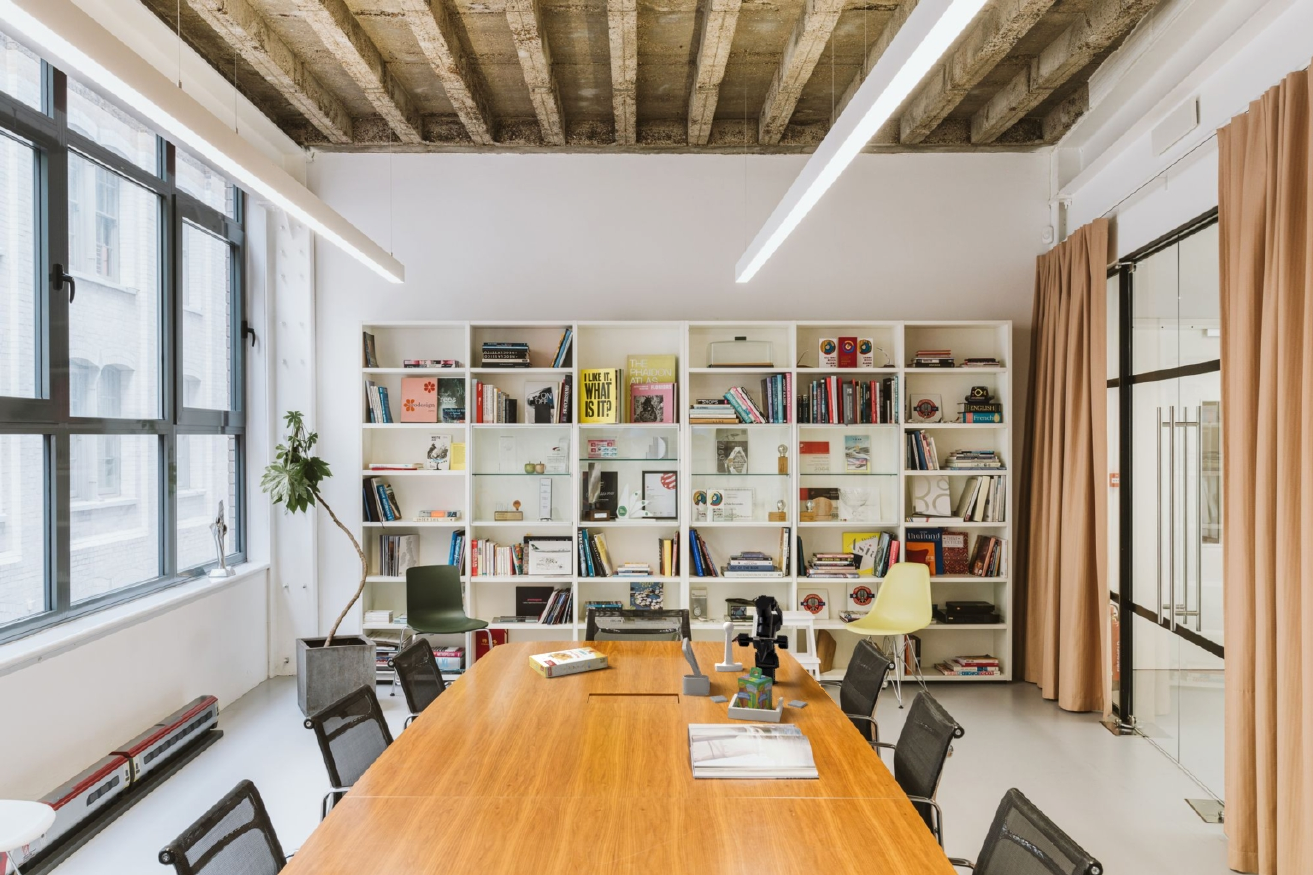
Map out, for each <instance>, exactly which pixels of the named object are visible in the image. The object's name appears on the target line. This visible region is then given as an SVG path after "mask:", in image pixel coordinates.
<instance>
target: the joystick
mask: <svg viewBox="0 0 1313 875" xmlns="http://www.w3.org/2000/svg"><path fill="white" fill-rule="evenodd" d="M722 629H723V631H724V632H725V639H724V640H725V642H724V643H725V644H724V661H722V663H719V662H718V663H717V662H715V663H714V669H715V672H723V673H725V672H727V673H728V672H740V671H741V672H742V671H743V663H742V662H734V657H733V656H734V654H733V642H732V641H733V640H732V632H733V631H734V629H735V627H734V624H733V622H732V621H726V622H724V623H723V626H722Z"/></svg>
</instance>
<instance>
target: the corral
mask: <svg viewBox="0 0 1313 875" xmlns="http://www.w3.org/2000/svg"><path fill="white" fill-rule="evenodd" d="M733 694H734V695H732V698H731V700H730V702H729V705H728V707H727V718H728V719H733V720H744V721H746V720H747V721H758V722H769V723H780V720H781V717H782V712H783V711H784V710H783V708H784V696H780V697H779V698H778V701H777V705H776V708H775V710H773V709H772V710H763V709H750V708H737V699H738V693H733Z"/></svg>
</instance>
